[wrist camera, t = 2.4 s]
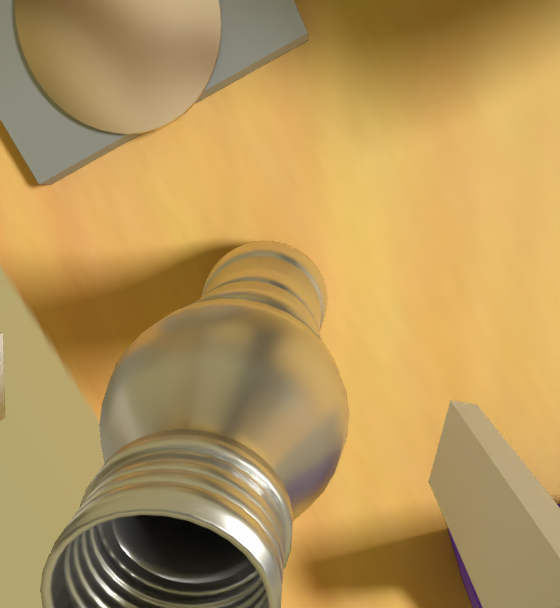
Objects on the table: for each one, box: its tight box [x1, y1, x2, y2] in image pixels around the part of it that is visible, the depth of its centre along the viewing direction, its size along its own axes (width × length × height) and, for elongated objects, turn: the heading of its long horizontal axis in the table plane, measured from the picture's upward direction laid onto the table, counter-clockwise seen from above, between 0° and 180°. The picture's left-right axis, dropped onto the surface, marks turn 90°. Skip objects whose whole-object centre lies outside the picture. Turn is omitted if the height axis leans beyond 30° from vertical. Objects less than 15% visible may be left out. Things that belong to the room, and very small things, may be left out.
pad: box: [15, 0, 222, 134], centre depth 21 cm, size 10×10×1 cm
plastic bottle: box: [40, 241, 349, 608], centre depth 16 cm, size 6×7×20 cm
